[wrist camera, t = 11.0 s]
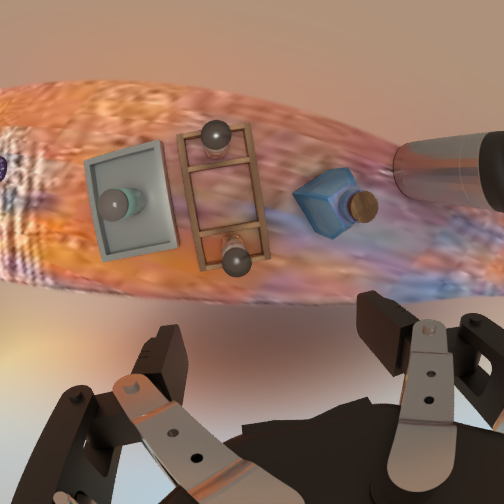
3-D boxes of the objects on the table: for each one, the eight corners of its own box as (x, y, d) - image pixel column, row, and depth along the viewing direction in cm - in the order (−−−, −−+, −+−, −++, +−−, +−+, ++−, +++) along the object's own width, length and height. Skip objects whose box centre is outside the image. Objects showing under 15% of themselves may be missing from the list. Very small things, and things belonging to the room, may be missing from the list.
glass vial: (225, 136, 34) (229, 118, 25) (229, 157, 35) (233, 146, 25) (203, 139, 34) (198, 122, 24) (206, 161, 34) (202, 151, 25)
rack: (248, 125, 34) (250, 122, 33) (268, 256, 38) (271, 258, 37) (178, 136, 33) (176, 134, 32) (201, 268, 37) (200, 271, 36)
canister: (241, 231, 37) (249, 246, 28) (244, 252, 38) (253, 274, 28) (219, 235, 37) (219, 251, 27) (222, 256, 37) (225, 279, 28)
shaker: (142, 185, 33) (123, 184, 26) (147, 212, 34) (129, 218, 27) (117, 191, 33) (94, 193, 26) (122, 218, 34) (100, 225, 27)
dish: (162, 142, 33) (159, 139, 31) (180, 244, 36) (177, 247, 34) (90, 162, 32) (83, 160, 30) (108, 258, 35) (102, 262, 33)
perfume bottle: (292, 193, 37) (325, 196, 25) (328, 169, 37) (373, 164, 25) (315, 231, 38) (354, 250, 27) (349, 207, 38) (398, 217, 27)
